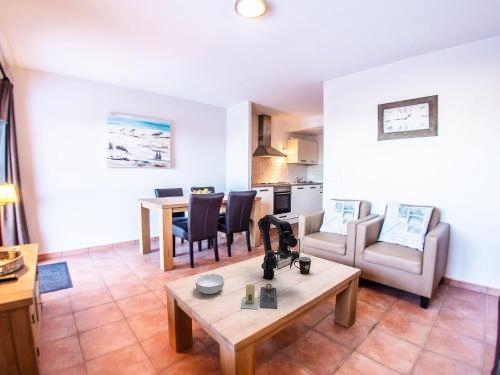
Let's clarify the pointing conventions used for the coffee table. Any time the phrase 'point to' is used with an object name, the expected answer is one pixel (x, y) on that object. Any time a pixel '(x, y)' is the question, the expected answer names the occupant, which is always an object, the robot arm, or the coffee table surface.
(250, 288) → the lever cap
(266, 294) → the plane body
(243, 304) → the bench mat
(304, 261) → the coffee mug
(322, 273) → the coffee table surface
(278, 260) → the newton's cradle
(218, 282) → the cereal bowl
